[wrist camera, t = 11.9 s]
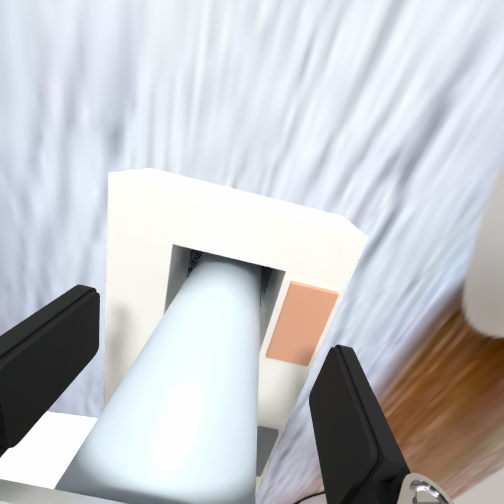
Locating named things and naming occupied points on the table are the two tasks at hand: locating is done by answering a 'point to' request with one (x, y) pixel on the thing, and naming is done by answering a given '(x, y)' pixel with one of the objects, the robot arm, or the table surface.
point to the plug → (184, 401)
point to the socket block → (233, 246)
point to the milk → (46, 450)
